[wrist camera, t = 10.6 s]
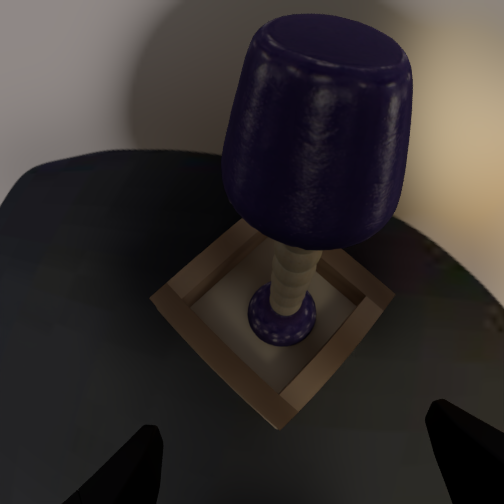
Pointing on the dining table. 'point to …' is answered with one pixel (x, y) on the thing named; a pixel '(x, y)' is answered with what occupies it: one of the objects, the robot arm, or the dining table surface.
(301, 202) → the toy lamp
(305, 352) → the frame
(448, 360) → the dining table surface
